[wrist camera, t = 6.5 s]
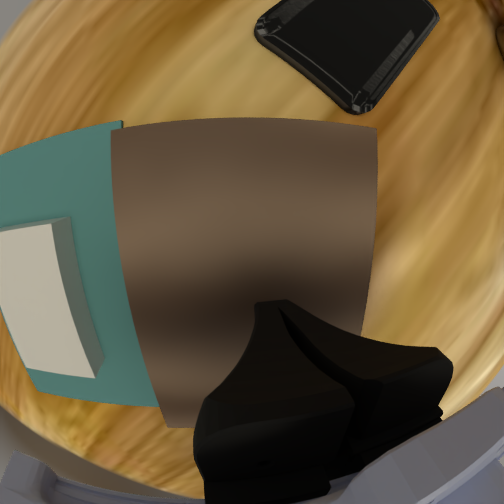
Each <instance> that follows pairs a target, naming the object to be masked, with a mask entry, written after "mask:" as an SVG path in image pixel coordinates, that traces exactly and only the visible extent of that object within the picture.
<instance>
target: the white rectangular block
mask: <svg viewBox="0 0 504 504" xmlns="http://www.w3.org/2000/svg"><path fill="white" fill-rule="evenodd" d="M0 307H1V309H2V312H3V315H4V318H5V321H6V323H7V326H8V328H9V331H10V333H11V336H12V338H13V340H14V343H15V345H16V347H17V350H18V352H19V354H20V356H21V358H22V360H23V362H24V364H25V366H26V368H31V369H36V370H41V371H46V372H52V373H58V374H64V375H71V376H79V377H87V378H96V376H97V374H98V372H99V370H100V368H101V366H102V363H103V361H104V359H105V358H104V355H103V352H102V349H101V347H100V344H99V341H98V338H97V335H96V332H95V329H94V325H93V322H92V319H91V315H90V312H89V308H88V305H87V301H86V297H85V293H84V289H83V285H82V281H81V276H80V272H79V267H78V262H77V257H76V251H75V246H74V240H73V233H72V226H71V218H70V216H69V217H62V218H55V219H49V220H42V221H36V222H30V223H24V224H19V225H13V226H8V227H2V228H0Z"/></svg>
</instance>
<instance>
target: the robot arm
mask: <svg viewBox="0 0 504 504" xmlns="http://www.w3.org/2000/svg"><path fill="white" fill-rule="evenodd" d="M254 312H255V324H254V328H253V331H252V334H251V337H250V340H249V342H248V345H247V347H246V349H245V351H244V353H243V355H242V356H241V358H240V360H239V361H238V363H237V364H236V366H235V367H234V369H233V370H232V371H231V372H230V373H229V375H228V376H227V377H226V378H225V379H224V381H223V382H222V383H221V384H220V385H219V386H218V387H217V388H215V389H214V390H213V391H212V392H211V393H210V394H209V395H208V396H207V397H205V398H204V401H203V403H202V406H201V409H200V411H199V415H198V418H197V421H196V425H195V430H194V436H193V453H194V460H195V462H196V465H197V467H198V469H199V471H200V474H201V476H202V478H203V480H204V495H205V499H178V498H163V497H152V496H143V495H136V494H130V493H123V492H118V491H113V490H108V489H103V488H99V487H95V486H91V485H87V484H83V483H80V482H76V481H73V480H70V479H67V478H64V477H61V476H58V475H56V473H55V472H54V471H53V470H52V469H51V468H50V467H49V466H48V465H46V464H45V463H44V462H42V461H40V460H38V459H36V458H34V457H31V456H29V455H26V454H24V453H22V452H20V451H17V450H14V451H13V453H12V456H11V458H10V460H9V463H8V465H7V467H6V470H5V472H4V475H3V477H2V480H1V483H0V504H504V467H503V466H502V465H501V463H500V462H499V461H498V460H499V459H500V458H501V457H502V456H503V455H504V387H503V388H502V389H501V388H500V387H495V388H493V389H491V390H489V391H487V392H485V393H484V394H482V395H481V396H480V397H478V398H477V399H475V400H474V401H473V402H471V403H470V404H468V405H467V406H465V407H464V408H462V409H461V410H459V411H458V412H456V413H455V414H453V415H451V416H450V417H448V418H446V419H445V420H442V419H441V418H440V417H441V416H442V415H443V411H442V409H441V408H440V407H439V406H438V405H439V403H440V401H441V399H442V397H443V395H444V394H445V392H446V390H447V388H448V386H449V384H450V381H451V379H452V375H453V364H452V362H451V361H450V360H449V359H448V358H447V357H446V356H445V355H444V354H443V353H442V352H441V351H440V350H439V349H438V348H436V347H417V346H404V345H397V344H390V343H385V342H380V341H376V340H372V339H368V338H364V337H361V336H358V335H355V334H352V333H350V332H347V331H344V330H342V329H340V328H337V327H335V326H333V325H331V324H329V323H327V322H325V321H323V320H321V319H319V318H318V317H316V316H314V315H312V314H311V313H309V312H307V311H306V310H304V309H303V308H301V307H299V306H298V305H296V304H294V303H293V302H291V301H289V300H287V299H283V300H274V301H264V302H257V303H256V304H255V305H254Z"/></svg>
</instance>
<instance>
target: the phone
mask: <svg viewBox="0 0 504 504" xmlns="http://www.w3.org/2000/svg"><path fill="white" fill-rule="evenodd" d="M439 19H440V17H439V14H438V12H437V10H436V9H435V8H434V6H433V5H432V4H431V3H430V2H429V1H428V0H281V1H280V2H279V3H277V4H276V5H275V6H273V7H272V8H271V9H269V10H268V11H267V12H265V13H264V14H263V15H262V16H261V17H260V18H259V19H258V20H257V23H256V26H255V29H254V35H255V37H256V39H257V41H258V42H259V43H260V44H262V45H263V46H264V47H266V48H267V49H269V50H270V51H271V52H273V53H274V54H276V55H277V56H279V57H280V58H281V59H283V60H284V61H285V62H287V63H288V64H289V65H291V66H292V67H293V68H295V69H296V70H297V71H299V72H300V73H301V74H302V75H304V76H305V77H306V78H307V79H309V80H310V81H311V82H312V83H313V84H315V85H316V86H317V87H318V88H319V89H320V90H322V91H323V92H324V93H325V94H326V95H327V96H328V97H330V98H331V99H332V100H333V101H334V102H335V103H336V104H337V105H338V106H339V107H341V108H342V109H343V110H344V111H346V112H347V113H350V114H352V115H359V114H362V113H366V112H369V111H371V110H372V109H373V108H374V107H375V106H376V104H377V103H378V102H379V100H380V99H381V98H382V96H383V95H384V94H385V92H386V91H387V90H388V88H389V87H390V86H391V84H392V83H393V82H394V80H395V79H396V78H397V76H398V75H399V74H400V72H401V71H402V70H403V68H404V67H405V66H406V64H407V63H408V62H409V60H410V59H411V58H412V56H413V55H414V54H415V52H416V51H417V50H418V48H419V47H420V46H421V44H422V43H423V42H424V40H425V39H426V38H427V36H428V35H429V34H430V32H431V31H432V30H433V28H434V27H435V25H436V24H437V23H438V21H439Z"/></svg>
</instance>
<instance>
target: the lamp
mask: <svg viewBox="0 0 504 504" xmlns="http://www.w3.org/2000/svg"><path fill="white" fill-rule="evenodd" d="M496 37H497V42H498V45H499V49H500V51H501V54H502V57H503V60H504V25H503V26H499V27H497V28H496Z"/></svg>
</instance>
